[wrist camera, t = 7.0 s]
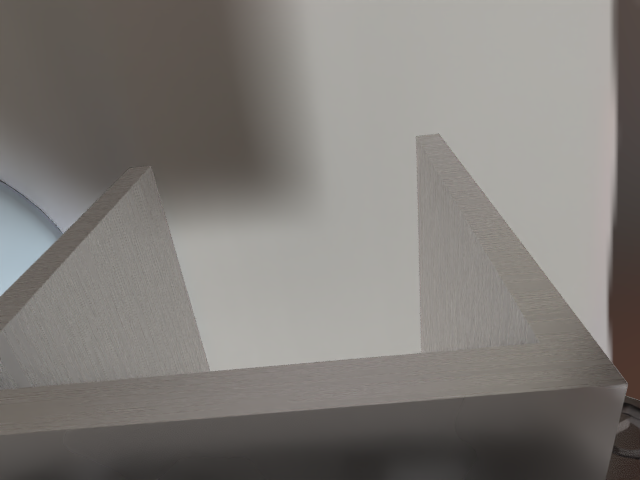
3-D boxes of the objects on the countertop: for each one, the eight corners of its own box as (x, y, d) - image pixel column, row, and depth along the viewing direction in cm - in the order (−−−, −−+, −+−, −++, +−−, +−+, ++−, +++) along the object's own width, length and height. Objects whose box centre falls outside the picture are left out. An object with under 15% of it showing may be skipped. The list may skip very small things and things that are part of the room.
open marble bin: (439, 373, 14) (546, 730, 7) (199, 393, 15) (95, 750, 8) (439, 133, 11) (627, 383, 4) (129, 168, 11) (-151, 447, 5)
